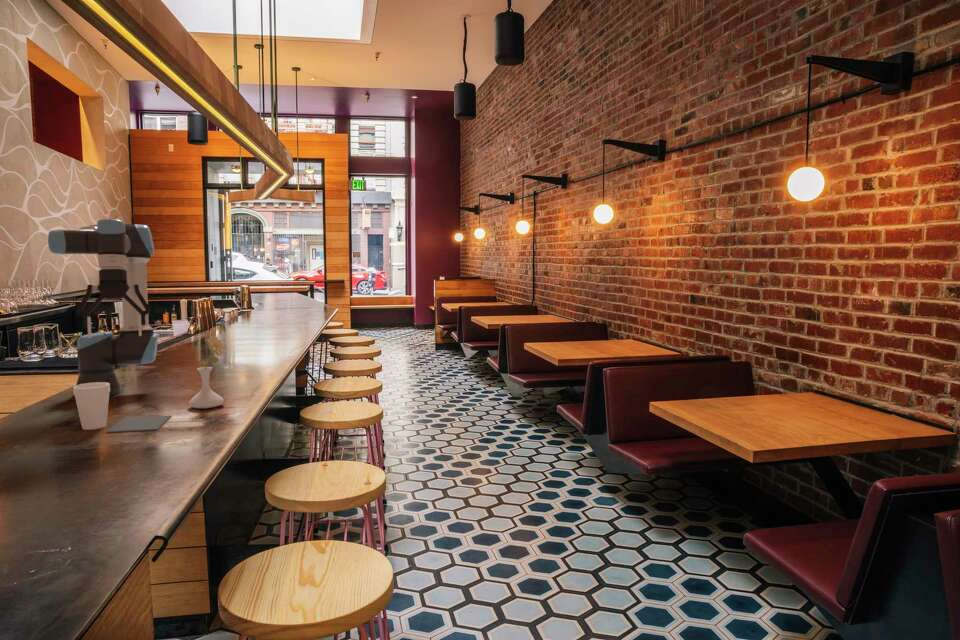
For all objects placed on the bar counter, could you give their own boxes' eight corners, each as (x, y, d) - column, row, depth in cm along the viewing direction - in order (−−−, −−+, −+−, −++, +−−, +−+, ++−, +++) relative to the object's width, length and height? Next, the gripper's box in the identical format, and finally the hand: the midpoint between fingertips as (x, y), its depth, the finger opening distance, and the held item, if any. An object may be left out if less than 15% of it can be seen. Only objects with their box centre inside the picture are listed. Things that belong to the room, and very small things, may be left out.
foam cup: (118, 424, 190) (116, 383, 189) (89, 432, 182) (86, 389, 180) (99, 421, 194) (96, 381, 193) (69, 428, 186) (66, 386, 184)
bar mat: (124, 418, 197) (124, 417, 197) (171, 416, 200) (171, 415, 200) (106, 432, 181) (106, 431, 181) (157, 430, 184) (157, 428, 184)
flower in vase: (201, 412, 205) (198, 339, 203) (181, 408, 211) (178, 336, 209) (235, 404, 216) (232, 335, 214) (215, 400, 222) (212, 332, 220)
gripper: (63, 267, 181) (66, 339, 181) (158, 268, 194) (161, 335, 194) (65, 270, 188) (68, 338, 188) (157, 270, 200) (159, 335, 200)
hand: (115, 337), depth 191 cm, fingers open, 13 cm apart
